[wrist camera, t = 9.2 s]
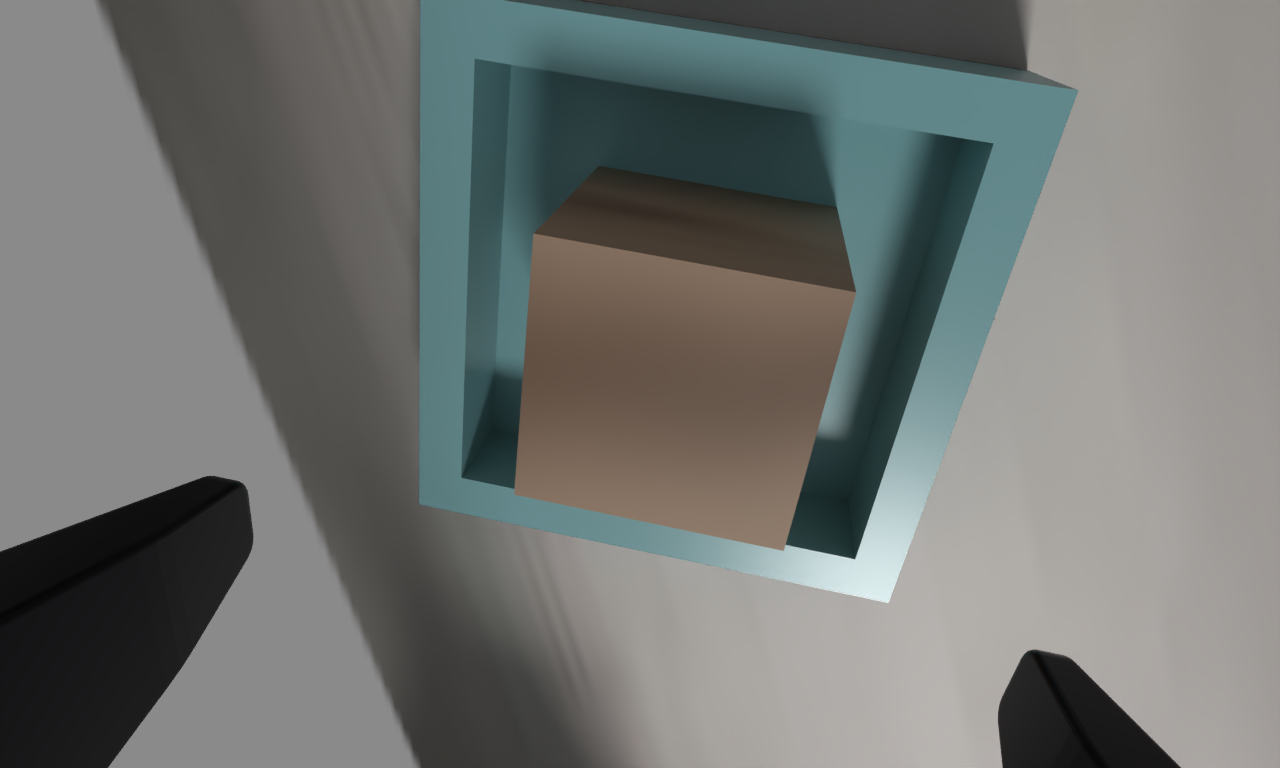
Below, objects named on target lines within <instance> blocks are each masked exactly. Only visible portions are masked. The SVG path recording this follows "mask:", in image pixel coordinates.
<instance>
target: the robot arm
mask: <svg viewBox="0 0 1280 768" xmlns="http://www.w3.org/2000/svg"><path fill="white" fill-rule="evenodd" d="M252 545H253V529H252V521H251V513H250V505H249V497H248V491H247V489H246V487H245V485H244V484H242V483H241V482H239V481H235V480H231V479H225V478H221V477H216V476H206V477H203V478H200V479H197V480H195V481H192V482H189V483H186V484H183V485H181V486H178V487H175V488H173V489H170V490H167V491H165V492H162V493H159V494H156V495H153V496H151V497H148V498H145V499H143V500H140V501H137V502H134V503H132V504H129V505H126V506H123V507H121V508H118V509H115V510H113V511H110V512H107V513H104V514H102V515H99V516H96V517H94V518H91V519H88V520H85V521H83V522H80V523H77V524H74V525H72V526H69V527H66V528H64V529H61V530H58V531H55V532H52V533H50V534H47V535H44V536H42V537H39V538H36V539H33V540H31V541H28V542H25V543H23V544H20V545H17V546H14V547H12V548H9V549H6V550H3V551H1V552H0V768H108V767H109V765H110V764H111V763H112V761H113V760H114V759H115V757H116V756H117V755H118V753H119V752H120V751H121V749H122V748H123V746H124V745H125V744H126V743H127V741H128V740H129V739H130V737H131V736H132V735H133V733H134V732H135V730H136V729H137V728H138V726H139V725H140V723H141V722H142V721H143V720H144V718H145V717H146V715H147V714H148V713H149V712H150V710H151V709H152V707H153V706H154V705H155V704H156V702H157V701H158V699H159V698H160V697H161V696H162V694H163V693H164V692H165V690H166V689H167V687H168V686H169V685H170V683H171V682H172V680H173V679H174V678H175V676H176V675H177V673H178V672H179V671H180V669H181V668H182V666H183V665H184V663H185V661H186V660H187V658H188V657H189V655H190V654H191V652H192V651H193V649H194V647H195V646H196V644H197V642H198V640H199V639H200V637H201V635H202V634H203V632H204V630H205V629H206V627H207V625H208V624H209V622H210V621H211V619H212V617H213V616H214V614H215V612H216V611H217V609H218V607H219V605H220V604H221V602H222V600H223V599H224V597H225V595H226V594H227V592H228V590H229V589H230V587H231V585H232V584H233V582H234V580H235V579H236V577H237V575H238V574H239V572H240V570H241V569H242V567H243V565H244V563H245V562H246V560H247V558H248V557H249V554H250V552H251V549H252ZM998 727H999V736H1000V746H1001V756H1002V765H1003V768H1181V767H1180V766H1179V765H1178V764H1177V763H1176V762H1175V761H1174V760H1173V759H1172V758H1171V757H1170V756H1169V755H1168V754H1167V753H1166V752H1165V751H1164V750H1163V749H1162V748H1161V747H1160V746H1159V745H1158V744H1157V743H1156V742H1155V741H1154V740H1153V739H1152V738H1151V737H1150V736H1149V735H1148V734H1147V733H1146V732H1145V731H1144V730H1143V729H1142V728H1141V727H1140V726H1139V725H1138V724H1137V723H1136V722H1135V721H1134V720H1133V719H1132V718H1131V717H1130V716H1129V715H1128V714H1127V713H1126V712H1125V711H1124V710H1123V709H1122V708H1120V707H1119V706H1118V705H1117V704H1116V703H1115V702H1114V701H1113V700H1112V699H1111V698H1110V697H1109V696H1108V695H1107V694H1106V693H1105V692H1104V691H1103V690H1102V689H1101V688H1100V687H1099V686H1098V685H1097V684H1096V683H1095V682H1094V681H1093V680H1092V679H1091V678H1090V677H1089V676H1088V675H1087V674H1086V673H1085V672H1084V671H1083V670H1082V669H1081V668H1080V667H1079V666H1078V665H1077V664H1076V663H1075V662H1074V661H1073V660H1072V659H1070V658H1069V657H1066V656H1064V655H1059V654H1055V653H1050V652H1045V651H1040V650H1030V651H1027V652H1026V653H1025V654H1024V655H1023V657H1022V658H1021V660H1020V662H1019V664H1018V666H1017V668H1016V670H1015V672H1014V674H1013V676H1012V678H1011V680H1010V682H1009V684H1008V686H1007V688H1006V690H1005V692H1004V694H1003V696H1002V699H1001V701H1000V705H999V711H998Z"/></svg>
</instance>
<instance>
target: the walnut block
mask: <svg viewBox="0 0 1280 768" xmlns="http://www.w3.org/2000/svg"><path fill="white" fill-rule="evenodd" d="M855 295H856V289H855V284H854V280H853V276H852V271H851V267H850V262H849V258H848V254H847V249H846V245H845V240H844V236H843V232H842V227H841V223H840V218H839V214H838V210H837V207H832V206H826V205H821V204H815V203H809V202H804V201H798V200H792V199H786V198H781V197H775V196H769V195H763V194H758V193H752V192H746V191H741V190H735V189H729V188H723V187H718V186H712V185H706V184H700V183H695V182H689V181H683V180H678V179H672V178H666V177H660V176H655V175H649V174H643V173H637V172H632V171H626V170H620V169H614V168H609V167H603V166H598V167H597V168H596V169H595V170H594V171H593V172H592V174H591V175H590V176H589V177H588V178H587V179H586V180H585V181H584V182H583V183H582V184H581V185H580V186H579V187H578V188H577V189H576V190H575V191H574V192H573V193H572V194H571V195H570V196H569V197H568V198H567V199H566V200H565V201H564V202H563V203H562V205H561V206H560V207H559V208H558V209H557V210H556V211H555V212H554V213H553V214H552V215H551V216H550V217H549V218H548V219H547V220H546V221H545V222H544V223H543V224H542V225H541V226H540V227H539V228H538V229H537V230H536V231H535V232H534V233H533V246H532V260H531V273H530V287H529V300H528V314H527V328H526V341H525V355H524V368H523V382H522V395H521V409H520V422H519V436H518V449H517V463H516V477H515V490H514V495H518V496H523V497H528V498H533V499H538V500H542V501H547V502H552V503H557V504H561V505H566V506H571V507H576V508H581V509H585V510H590V511H595V512H600V513H604V514H609V515H614V516H619V517H624V518H628V519H633V520H638V521H643V522H647V523H652V524H657V525H662V526H667V527H671V528H676V529H681V530H686V531H691V532H695V533H700V534H705V535H710V536H714V537H719V538H724V539H729V540H734V541H738V542H743V543H748V544H753V545H757V546H762V547H767V548H772V549H777V550H781V551H784V549H785V545H786V541H787V538H788V534H789V531H790V527H791V524H792V520H793V516H794V513H795V509H796V506H797V502H798V499H799V495H800V492H801V488H802V484H803V481H804V477H805V474H806V470H807V467H808V463H809V459H810V456H811V452H812V449H813V445H814V442H815V438H816V434H817V431H818V427H819V424H820V420H821V417H822V413H823V409H824V406H825V402H826V399H827V395H828V392H829V388H830V384H831V381H832V377H833V374H834V370H835V367H836V363H837V360H838V356H839V352H840V349H841V345H842V342H843V338H844V335H845V331H846V327H847V324H848V320H849V317H850V313H851V310H852V306H853V302H854V299H855Z"/></svg>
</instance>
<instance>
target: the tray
mask: <svg viewBox="0 0 1280 768" xmlns="http://www.w3.org/2000/svg"><path fill="white" fill-rule="evenodd" d="M1077 93H1078V90H1076V89H1073V88H1071V87H1068V86H1066V85H1063V84H1061V83H1058V82H1056V81H1053V80H1051V79H1048V78H1045V77H1043V76H1040V75H1038V74H1035V73H1033V72H1030V71H1027V70H1021V69H1014V68H1008V67H1001V66H995V65H989V64H982V63H976V62H969V61H963V60H956V59H950V58H944V57H937V56H931V55H924V54H918V53H911V52H905V51H899V50H892V49H886V48H879V47H873V46H866V45H860V44H854V43H847V42H841V41H834V40H828V39H822V38H815V37H809V36H802V35H796V34H789V33H783V32H777V31H770V30H764V29H757V28H751V27H744V26H738V25H732V24H725V23H719V22H712V21H706V20H699V19H693V18H687V17H680V16H674V15H667V14H661V13H654V12H648V11H642V10H635V9H629V8H622V7H616V6H610V5H603V4H597V3H590V2H584V1H577V0H420V353H419V504H420V505H425V506H430V507H434V508H439V509H444V510H449V511H453V512H458V513H463V514H468V515H473V516H477V517H482V518H487V519H492V520H496V521H501V522H506V523H511V524H515V525H520V526H525V527H530V528H534V529H539V530H544V531H549V532H553V533H558V534H563V535H568V536H572V537H577V538H582V539H587V540H591V541H596V542H601V543H606V544H610V545H615V546H620V547H625V548H630V549H634V550H639V551H644V552H649V553H653V554H658V555H663V556H668V557H672V558H677V559H682V560H687V561H691V562H696V563H701V564H706V565H710V566H715V567H720V568H725V569H729V570H734V571H739V572H744V573H748V574H753V575H758V576H763V577H768V578H772V579H777V580H782V581H787V582H791V583H796V584H801V585H806V586H810V587H815V588H820V589H825V590H829V591H834V592H839V593H844V594H848V595H853V596H858V597H863V598H867V599H872V600H877V601H882V602H886V603H889V600H890V597H891V595H892V592H893V589H894V587H895V584H896V581H897V579H898V576H899V573H900V570H901V568H902V565H903V562H904V560H905V557H906V554H907V552H908V549H909V546H910V543H911V541H912V538H913V535H914V533H915V530H916V527H917V525H918V522H919V519H920V516H921V514H922V511H923V508H924V506H925V503H926V500H927V498H928V495H929V492H930V489H931V487H932V484H933V481H934V479H935V476H936V473H937V471H938V468H939V465H940V462H941V460H942V457H943V454H944V452H945V449H946V446H947V444H948V441H949V438H950V435H951V433H952V430H953V427H954V425H955V422H956V419H957V417H958V414H959V411H960V408H961V406H962V403H963V400H964V398H965V395H966V392H967V390H968V387H969V384H970V381H971V379H972V376H973V373H974V371H975V368H976V365H977V363H978V360H979V357H980V354H981V352H982V349H983V346H984V344H985V341H986V338H987V336H988V333H989V330H990V327H991V325H992V322H993V319H994V317H995V314H996V311H997V309H998V306H999V303H1000V300H1001V298H1002V295H1003V292H1004V290H1005V287H1006V284H1007V282H1008V279H1009V276H1010V273H1011V271H1012V268H1013V265H1014V263H1015V260H1016V257H1017V255H1018V252H1019V249H1020V246H1021V244H1022V241H1023V238H1024V236H1025V233H1026V230H1027V228H1028V225H1029V222H1030V219H1031V217H1032V214H1033V211H1034V209H1035V206H1036V203H1037V201H1038V198H1039V195H1040V192H1041V190H1042V187H1043V184H1044V182H1045V179H1046V176H1047V174H1048V171H1049V168H1050V165H1051V163H1052V160H1053V157H1054V155H1055V152H1056V149H1057V147H1058V144H1059V141H1060V138H1061V136H1062V133H1063V130H1064V128H1065V125H1066V122H1067V120H1068V117H1069V114H1070V111H1071V109H1072V106H1073V103H1074V101H1075V98H1076V95H1077ZM598 166H603V167H609V168H614V169H620V170H626V171H632V172H637V173H643V174H649V175H655V176H660V177H666V178H672V179H678V180H683V181H689V182H695V183H700V184H706V185H712V186H718V187H723V188H729V189H735V190H741V191H746V192H752V193H758V194H763V195H769V196H775V197H781V198H786V199H792V200H798V201H804V202H809V203H815V204H821V205H826V206H832V207H837V210H838V214H839V218H840V223H841V227H842V232H843V236H844V240H845V245H846V249H847V254H848V258H849V262H850V267H851V271H852V276H853V280H854V284H855V289H856V295H855V299H854V302H853V306H852V310H851V313H850V317H849V320H848V324H847V327H846V331H845V335H844V338H843V342H842V345H841V349H840V352H839V356H838V360H837V363H836V367H835V370H834V374H833V377H832V381H831V384H830V388H829V392H828V395H827V399H826V402H825V406H824V409H823V413H822V417H821V420H820V424H819V427H818V431H817V434H816V438H815V442H814V445H813V449H812V452H811V456H810V459H809V463H808V467H807V470H806V474H805V477H804V481H803V484H802V488H801V492H800V495H799V499H798V502H797V506H796V509H795V513H794V516H793V520H792V524H791V527H790V531H789V534H788V538H787V541H786V545H785V549H784V551H781V550H777V549H772V548H767V547H762V546H757V545H753V544H748V543H743V542H738V541H734V540H729V539H724V538H719V537H714V536H710V535H705V534H700V533H695V532H691V531H686V530H681V529H676V528H671V527H667V526H662V525H657V524H652V523H647V522H643V521H638V520H633V519H628V518H624V517H619V516H614V515H609V514H604V513H600V512H595V511H590V510H585V509H581V508H576V507H571V506H566V505H561V504H557V503H552V502H547V501H542V500H538V499H533V498H528V497H523V496H518V495H514V490H515V477H516V463H517V449H518V436H519V422H520V409H521V395H522V382H523V368H524V355H525V341H526V328H527V314H528V300H529V287H530V273H531V260H532V246H533V233H534V232H535V231H536V230H537V229H538V228H539V227H540V226H541V225H542V224H543V223H544V222H545V221H546V220H547V219H548V218H549V217H550V216H551V215H552V214H553V213H554V212H555V211H556V210H557V209H558V208H559V207H560V206H561V205H562V203H563V202H564V201H565V200H566V199H567V198H568V197H569V196H570V195H571V194H572V193H573V192H574V191H575V190H576V189H577V188H578V187H579V186H580V185H581V184H582V183H583V182H584V181H585V180H586V179H587V178H588V177H589V176H590V175H591V174H592V172H593V171H594V170H595V169H596V168H597V167H598Z"/></svg>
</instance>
